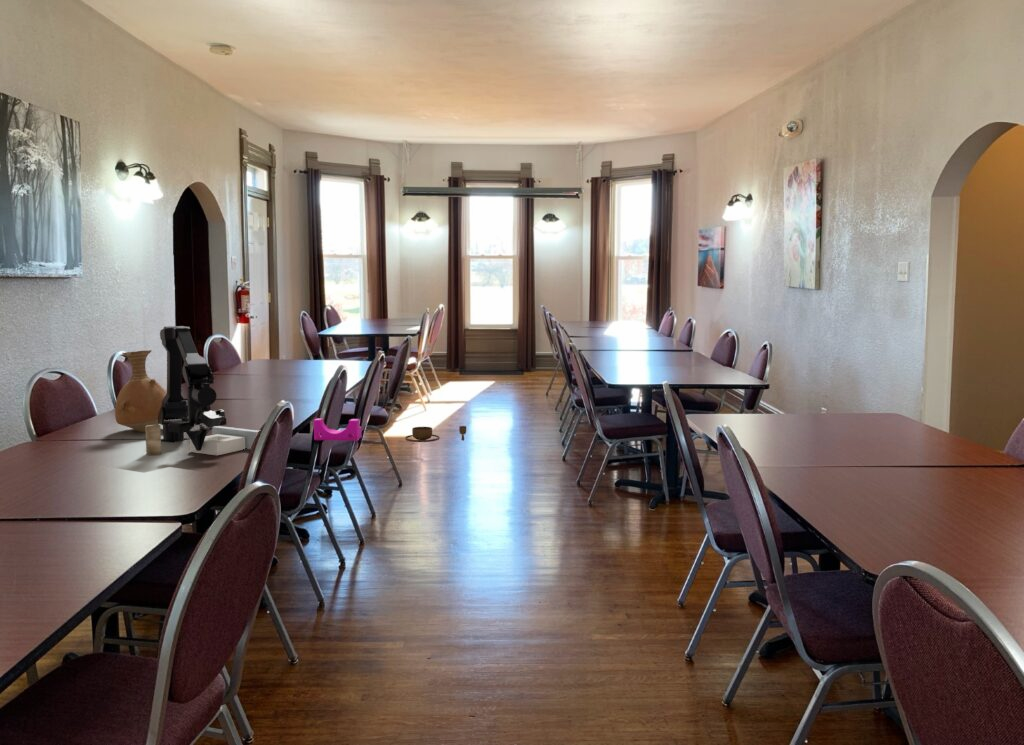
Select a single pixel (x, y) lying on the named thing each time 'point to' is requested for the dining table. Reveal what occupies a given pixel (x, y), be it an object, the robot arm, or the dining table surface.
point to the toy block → (347, 435)
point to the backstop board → (237, 433)
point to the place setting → (429, 434)
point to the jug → (139, 396)
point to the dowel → (153, 439)
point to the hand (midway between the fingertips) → (198, 450)
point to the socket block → (220, 444)
